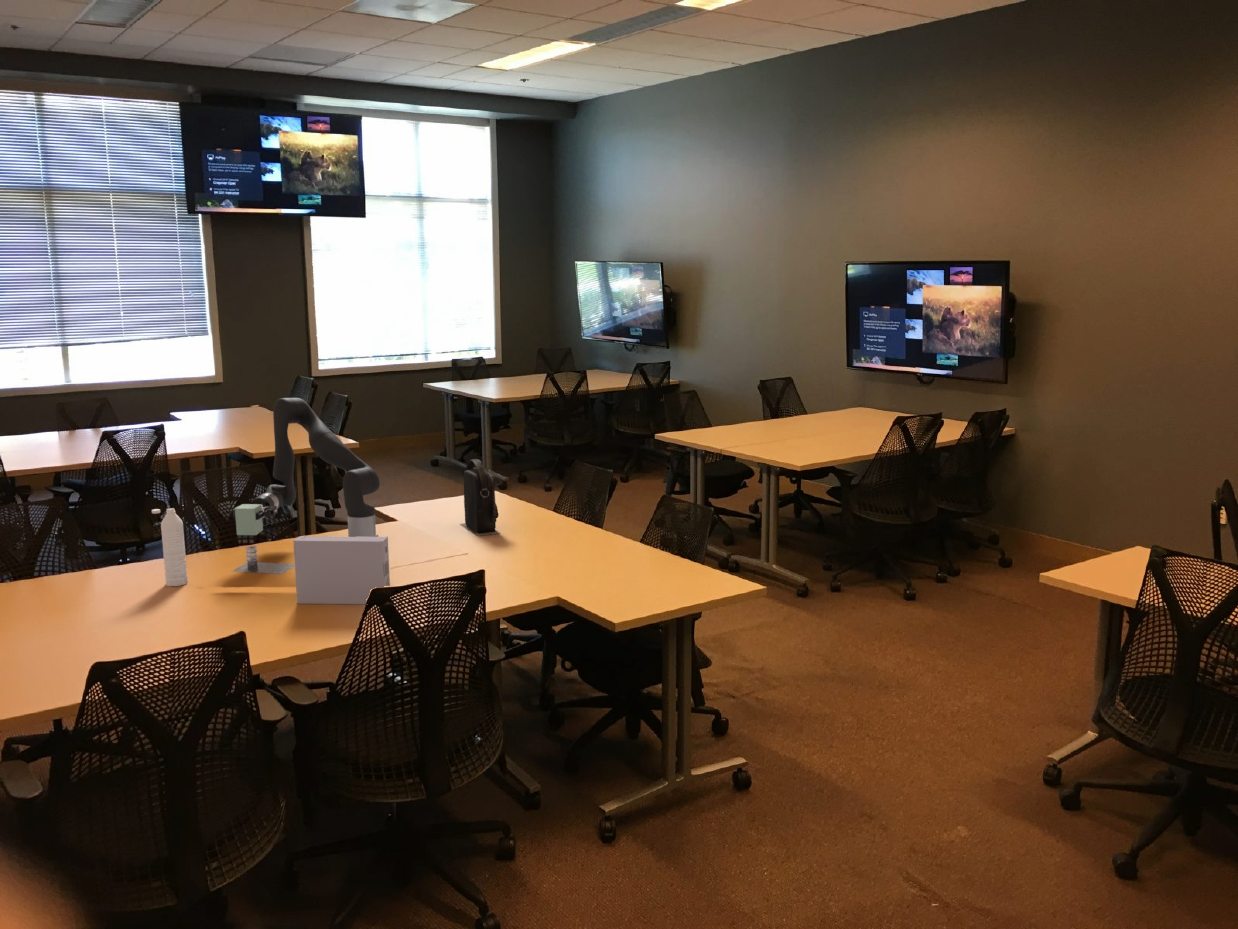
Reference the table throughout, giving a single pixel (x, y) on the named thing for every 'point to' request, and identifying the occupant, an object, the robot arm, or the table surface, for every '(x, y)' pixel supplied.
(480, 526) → the shoulder bag
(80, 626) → the table surface
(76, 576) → the table surface
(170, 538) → the water bottle
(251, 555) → the post stand
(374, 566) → the game console
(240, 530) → the pale green block
